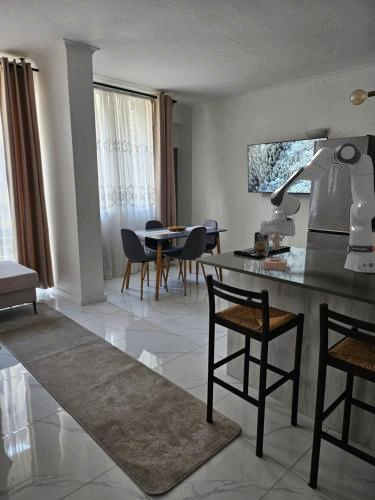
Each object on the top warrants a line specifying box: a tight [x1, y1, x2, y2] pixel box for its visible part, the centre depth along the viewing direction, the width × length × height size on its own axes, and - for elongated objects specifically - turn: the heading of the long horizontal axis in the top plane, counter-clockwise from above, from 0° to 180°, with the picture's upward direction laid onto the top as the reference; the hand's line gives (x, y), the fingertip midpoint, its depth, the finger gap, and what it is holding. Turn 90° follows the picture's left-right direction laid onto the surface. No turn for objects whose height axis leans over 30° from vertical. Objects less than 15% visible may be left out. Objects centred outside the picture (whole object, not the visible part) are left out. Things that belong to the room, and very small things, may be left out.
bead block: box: [262, 257, 288, 272], centre depth 202 cm, size 12×12×4 cm
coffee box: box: [253, 231, 270, 258], centre depth 234 cm, size 9×6×16 cm
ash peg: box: [271, 233, 281, 251], centre depth 200 cm, size 4×4×9 cm
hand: (276, 240), depth 199 cm, fingers closed on ash peg, 4 cm apart
